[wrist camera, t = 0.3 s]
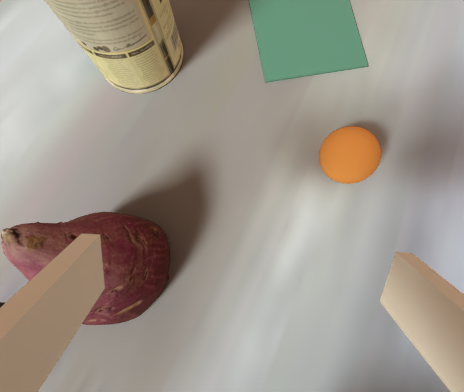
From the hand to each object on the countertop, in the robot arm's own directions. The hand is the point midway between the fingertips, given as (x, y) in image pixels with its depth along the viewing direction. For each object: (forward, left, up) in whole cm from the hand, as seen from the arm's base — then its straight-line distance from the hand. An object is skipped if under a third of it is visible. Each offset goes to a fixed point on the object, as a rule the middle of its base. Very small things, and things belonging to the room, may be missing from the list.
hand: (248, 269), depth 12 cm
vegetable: (+1, +12, -16) cm, 20 cm away
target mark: (+25, -12, -15) cm, 32 cm away
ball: (+8, -12, -13) cm, 19 cm away
